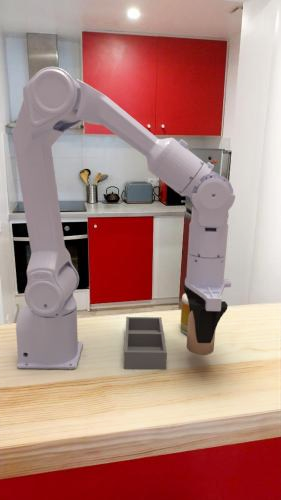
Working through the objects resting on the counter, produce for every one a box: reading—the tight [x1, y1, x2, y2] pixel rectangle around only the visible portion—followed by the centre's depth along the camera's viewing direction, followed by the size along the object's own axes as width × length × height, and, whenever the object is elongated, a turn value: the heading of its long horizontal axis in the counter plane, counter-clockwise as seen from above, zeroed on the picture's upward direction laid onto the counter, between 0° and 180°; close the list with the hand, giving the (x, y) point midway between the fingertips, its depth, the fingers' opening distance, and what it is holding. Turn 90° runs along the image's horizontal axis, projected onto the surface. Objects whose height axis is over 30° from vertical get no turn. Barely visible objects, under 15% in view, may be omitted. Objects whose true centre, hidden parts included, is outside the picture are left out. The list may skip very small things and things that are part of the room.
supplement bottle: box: [179, 292, 190, 336], centre depth 70 cm, size 5×5×10 cm
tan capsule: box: [186, 311, 216, 356], centre depth 58 cm, size 4×4×7 cm
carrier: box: [123, 316, 168, 370], centre depth 64 cm, size 7×13×3 cm, turn 1°
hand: (201, 334), depth 58 cm, fingers closed on tan capsule, 4 cm apart
